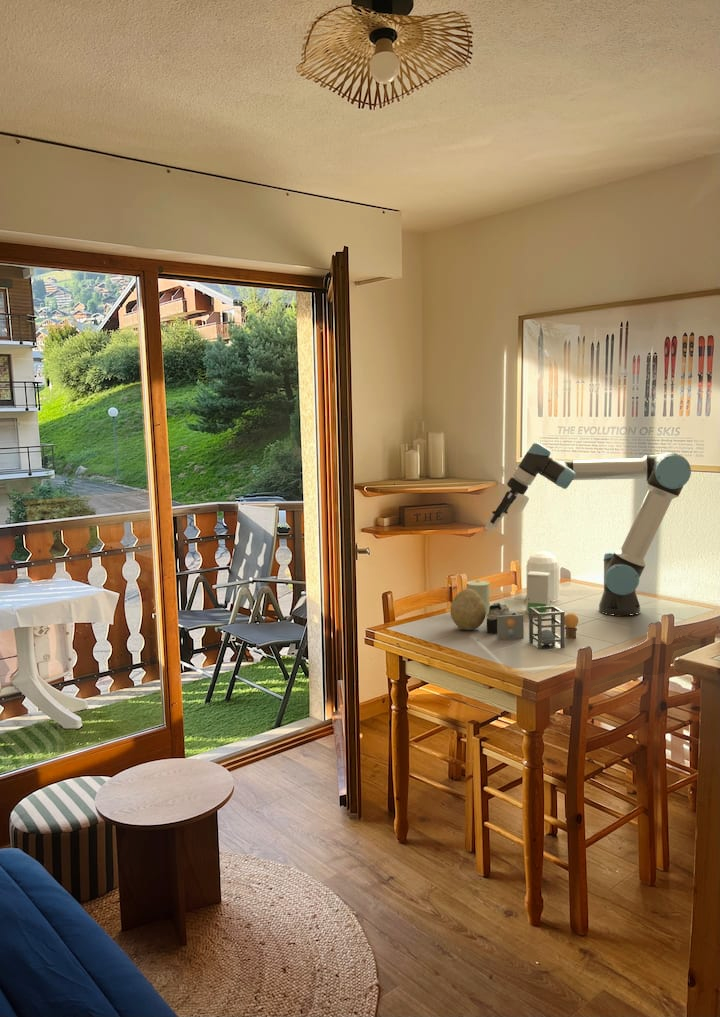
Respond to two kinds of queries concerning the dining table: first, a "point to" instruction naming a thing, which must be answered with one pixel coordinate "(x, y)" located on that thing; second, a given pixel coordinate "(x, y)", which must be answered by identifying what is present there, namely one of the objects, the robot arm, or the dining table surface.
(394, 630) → the dining table surface
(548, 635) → the gray ball
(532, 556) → the container
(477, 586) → the can
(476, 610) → the fossilized egg
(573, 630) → the pedestal
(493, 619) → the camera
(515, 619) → the sign
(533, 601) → the skincare box
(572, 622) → the orange ball
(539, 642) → the open frame box
